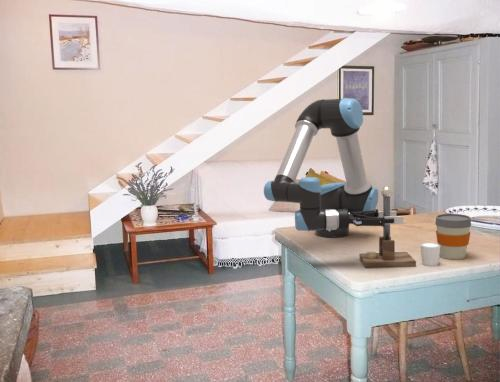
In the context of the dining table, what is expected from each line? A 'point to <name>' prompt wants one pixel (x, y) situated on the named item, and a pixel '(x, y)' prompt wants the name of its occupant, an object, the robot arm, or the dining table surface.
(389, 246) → the lever stand
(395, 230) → the dining table surface
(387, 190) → the lever
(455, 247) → the reusable coffee cup
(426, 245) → the white cylinder
